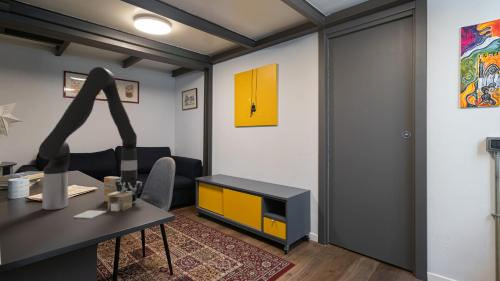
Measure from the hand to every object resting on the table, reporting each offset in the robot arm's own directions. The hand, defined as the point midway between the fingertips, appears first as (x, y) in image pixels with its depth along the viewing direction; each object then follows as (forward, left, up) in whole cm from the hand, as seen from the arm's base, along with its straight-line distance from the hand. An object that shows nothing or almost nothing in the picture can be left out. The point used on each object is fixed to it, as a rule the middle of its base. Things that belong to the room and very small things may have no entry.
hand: (129, 201), depth 127 cm
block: (0, 0, -1) cm, 1 cm away
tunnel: (0, -8, -1) cm, 8 cm away
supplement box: (-12, +3, -2) cm, 12 cm away
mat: (-7, -18, -1) cm, 19 cm away
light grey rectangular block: (0, -7, -2) cm, 7 cm away
